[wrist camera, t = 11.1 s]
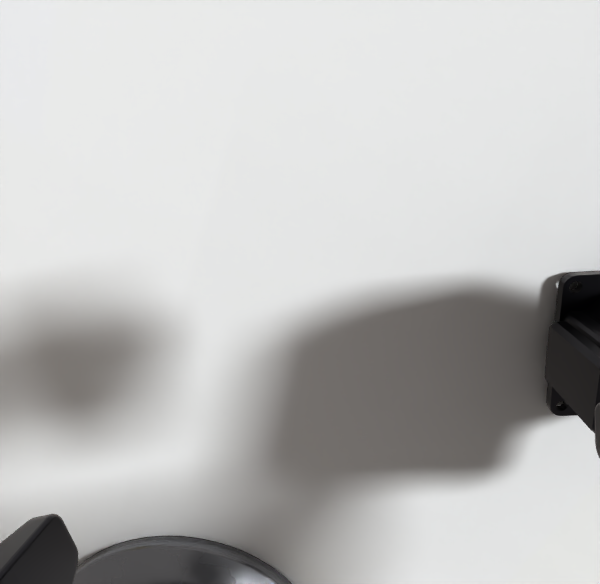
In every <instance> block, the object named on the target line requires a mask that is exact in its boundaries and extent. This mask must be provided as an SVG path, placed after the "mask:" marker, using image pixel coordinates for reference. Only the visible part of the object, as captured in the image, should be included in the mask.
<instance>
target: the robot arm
mask: <svg viewBox="0 0 600 584" xmlns="http://www.w3.org/2000/svg"><path fill="white" fill-rule="evenodd" d="M575 281H577V286H576V288H574V289H573V290H570V289H569V287H570V284H571V283H573V282H575ZM545 379H546V380H547V381H548V389H547V399H546V403H547V406H548V408H549V409H550V410H551V411H552V413H553V414H555V415H559V416H569V415H578V416H579V417H580V418H581V419H582V420H583V422H584V423H585V424H586V425H587V426H588V427H589V428H590V429H591V430H592V431H593V432H594V433H595V444H596V450H597V453H598V456H599V458H600V271H592V272H573V273H568V274H566V275H564V276H563V277H562V278H561V280H560V281H559V285H558V294H557V303H556V313H555V321H554V322H553V324H552V325H551V326H550V328H549V337H548V346H547V356H546V366H545ZM560 401H563V404H561V405H560V406H556V405H557V403H558V402H560ZM77 566H78V551H77V547H76V545H75V543H74V541H73V539H72V537H71V535H70V533H69V532H68V530H67V528H66V526H65V524H64V522H63V520H62V518H61V517H60V516H58V515H57V514H50V515H45V516H40V517H35V518H32V519H30V520H29V521H27V522H26V523H25V524H24V525H22V526H21V527H20V528H19V529H18V530H16V531H15V532H14V533H13V534H11V535H10V536H9V537H8V538H6V539H5V540H4V541H3V542H1V543H0V584H73V582H74V578H75V574H76V570H77Z"/></svg>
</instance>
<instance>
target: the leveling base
mask: <svg viewBox="0 0 600 584" xmlns="http://www.w3.org/2000/svg"><path fill="white" fill-rule="evenodd" d="M73 584H292V583H291V582H290V581H289V580H288V579H287V578H286V577H284V576H283V575H282V574H280V573H279V572H278V571H277V570H275V569H274V568H273V567H271V566H269V565H268V564H266V563H265V562H263V561H261V560H260V559H258V558H256V557H254V556H252V555H250V554H248V553H245V552H243V551H241V550H239V549H236V548H233V547H230V546H227V545H224V544H221V543H217V542H213V541H209V540H204V539H198V538H190V537H178V536H160V537H146V538H141V539H136V540H130V541H127V542H123V543H120V544H117V545H114V546H111V547H109V548H107V549H105V550H103V551H100V552H98V553H97V554H95V555H93V556H92V557H90V558H89V559H87V560H86V561H84V562H83V563H82V564H81V565H80V566H79V567H78V568H77V570H76V574H75V578H74V582H73Z"/></svg>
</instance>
